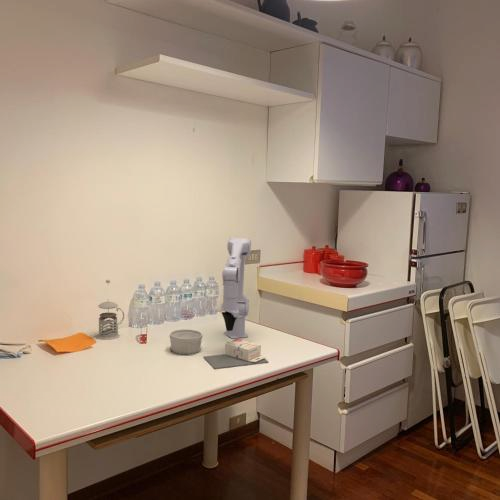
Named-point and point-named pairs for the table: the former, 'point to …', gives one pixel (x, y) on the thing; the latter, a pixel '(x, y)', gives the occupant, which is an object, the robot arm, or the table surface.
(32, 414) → the table surface
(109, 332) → the french press
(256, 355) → the ink cartridge box
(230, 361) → the mat
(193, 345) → the ramekin
